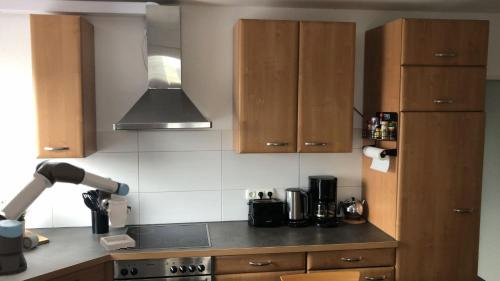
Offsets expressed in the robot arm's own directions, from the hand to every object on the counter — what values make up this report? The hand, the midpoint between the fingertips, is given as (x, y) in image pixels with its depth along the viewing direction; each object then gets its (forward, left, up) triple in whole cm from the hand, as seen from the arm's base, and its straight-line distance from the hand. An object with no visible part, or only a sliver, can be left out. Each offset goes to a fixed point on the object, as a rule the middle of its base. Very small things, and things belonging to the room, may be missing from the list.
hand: (119, 213), depth 247 cm
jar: (0, +4, -9) cm, 10 cm away
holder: (0, +4, -20) cm, 20 cm away
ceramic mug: (-45, +23, -20) cm, 54 cm away
